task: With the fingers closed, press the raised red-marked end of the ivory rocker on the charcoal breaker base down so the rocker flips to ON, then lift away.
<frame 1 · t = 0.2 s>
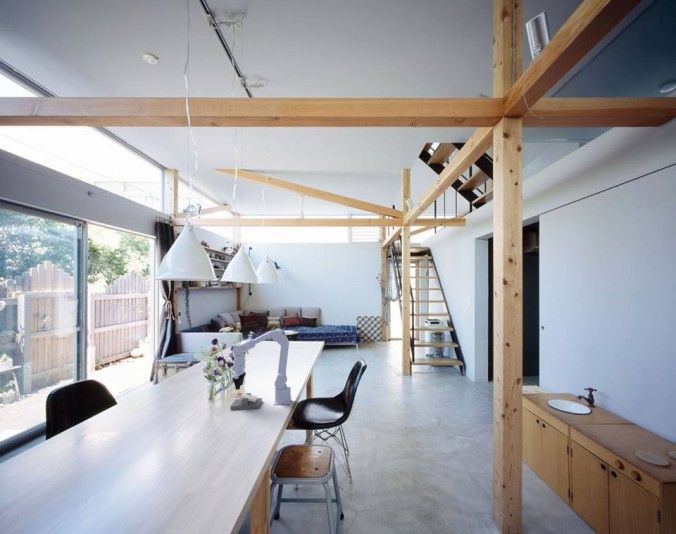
hand: (239, 387, 193), 10 cm above the table, tool pointing down, fingers open, 7 cm apart
rocker: (246, 396, 189), point 5 cm above the table, hinge at -15.0°
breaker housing: (246, 405, 189), on the table
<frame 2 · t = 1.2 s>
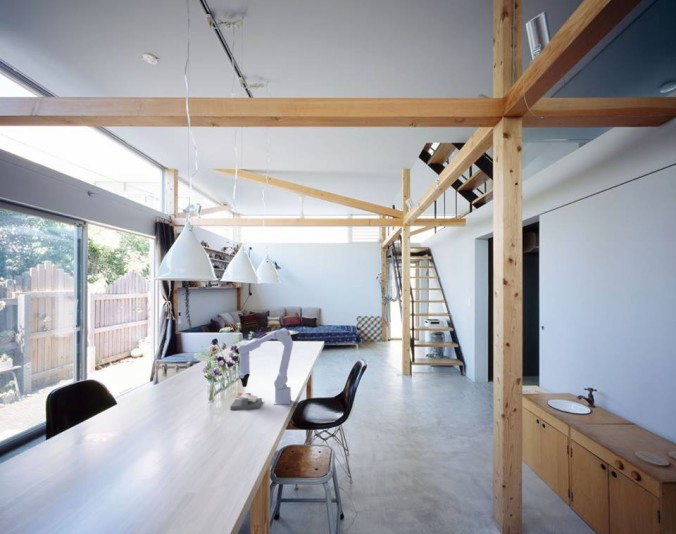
hand: (244, 386, 195), 9 cm above the table, tool pointing down, fingers closed
nothing on the table moved.
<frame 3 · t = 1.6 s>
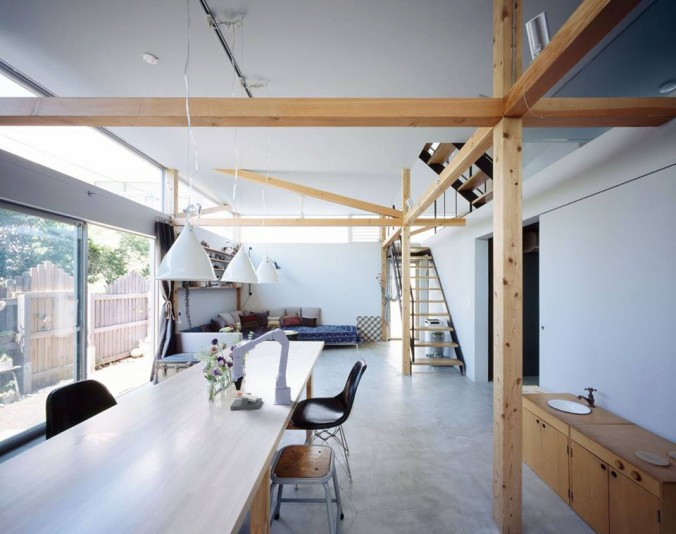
hand: (238, 389, 189), 9 cm above the table, tool pointing down, fingers closed
nothing on the table moved.
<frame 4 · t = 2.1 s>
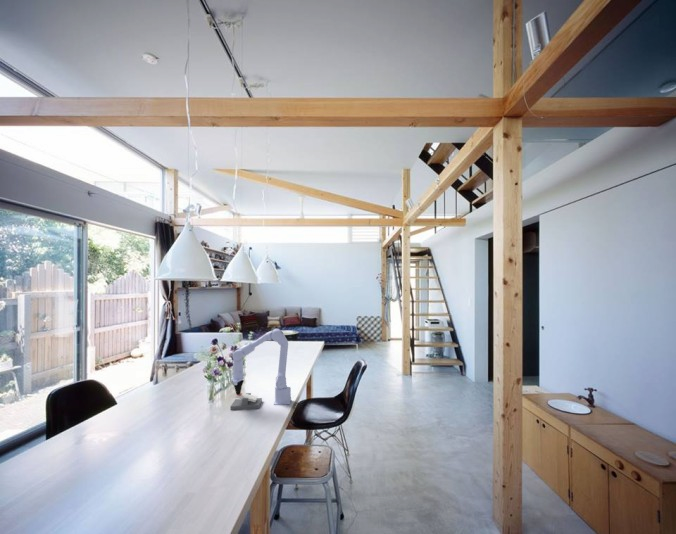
hand: (238, 393, 189), 7 cm above the table, tool pointing down, fingers closed, pressing on rocker
rocker: (246, 396, 189), point 5 cm above the table, hinge at -15.0°, touching gripper
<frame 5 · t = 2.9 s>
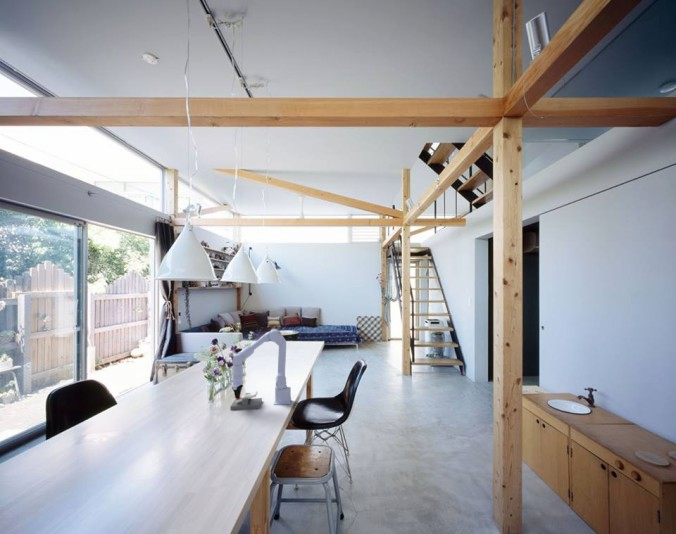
hand: (237, 398, 189), 5 cm above the table, tool pointing down, fingers closed, pressing on rocker
rocker: (246, 396, 189), point 5 cm above the table, hinge at 15.2°, touching gripper
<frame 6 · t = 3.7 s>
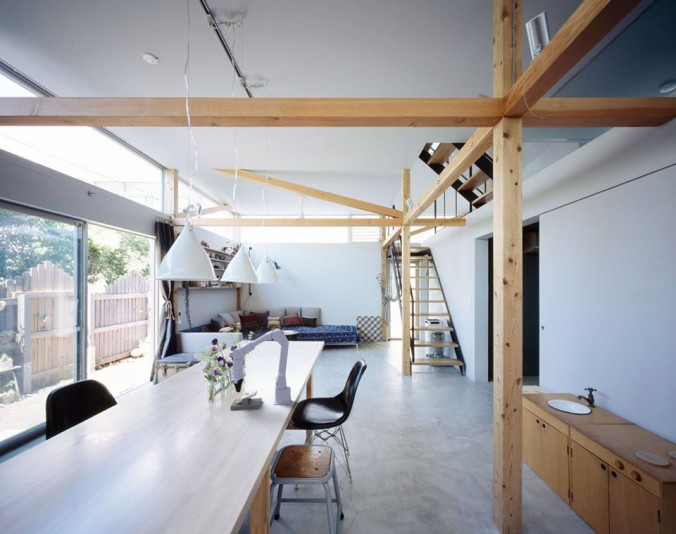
hand: (238, 392, 189), 8 cm above the table, tool pointing down, fingers closed
rocker: (246, 396, 189), point 5 cm above the table, hinge at 21.4°
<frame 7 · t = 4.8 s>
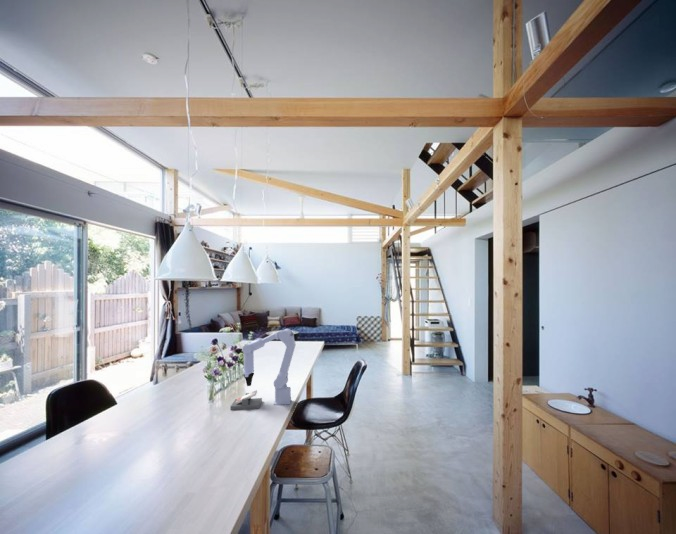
hand: (249, 385, 196), 9 cm above the table, tool pointing down, fingers closed
rocker: (246, 396, 189), point 5 cm above the table, hinge at 21.9°
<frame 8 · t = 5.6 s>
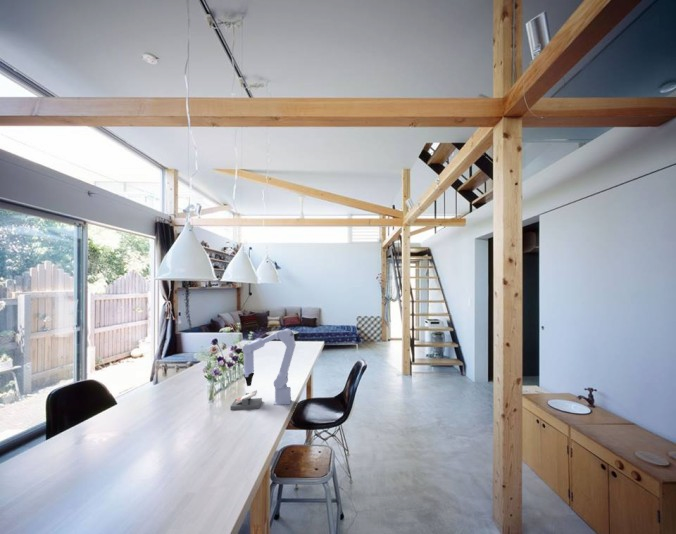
hand: (249, 385, 196), 9 cm above the table, tool pointing down, fingers closed
nothing on the table moved.
at the end: rocker at +22° (first picture: -15°); the gripper is holding nothing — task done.
